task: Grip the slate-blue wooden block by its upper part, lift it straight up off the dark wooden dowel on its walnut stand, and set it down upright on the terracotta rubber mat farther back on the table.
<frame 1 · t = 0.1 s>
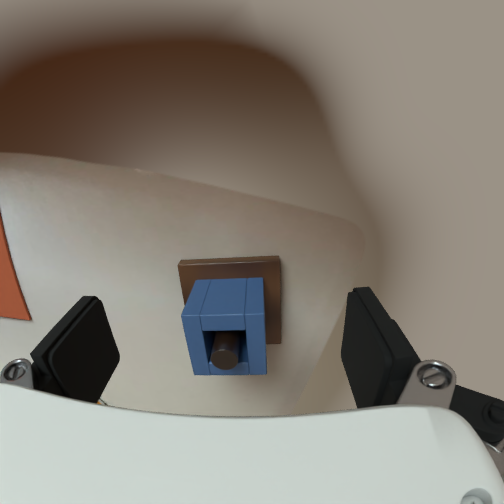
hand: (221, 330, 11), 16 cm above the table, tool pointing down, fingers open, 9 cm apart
blue block: (231, 307, 28), point 1 cm above the table, touching dowel stand
dowel stand: (232, 301, 29), on the table
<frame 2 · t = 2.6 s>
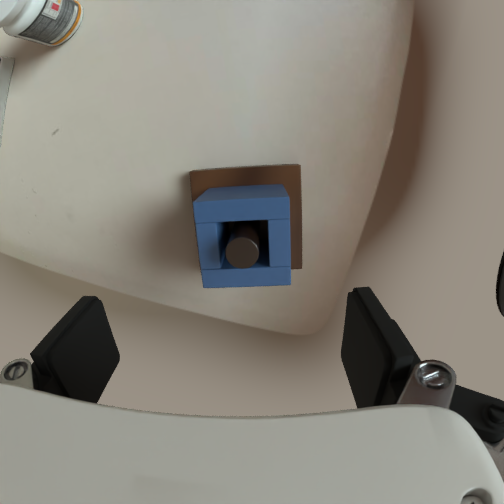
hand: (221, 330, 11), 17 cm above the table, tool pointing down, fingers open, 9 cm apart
blue block: (247, 221, 25), point 1 cm above the table, touching dowel stand
dowel stand: (248, 217, 26), on the table
pill bottle: (64, 24, 19), on the table
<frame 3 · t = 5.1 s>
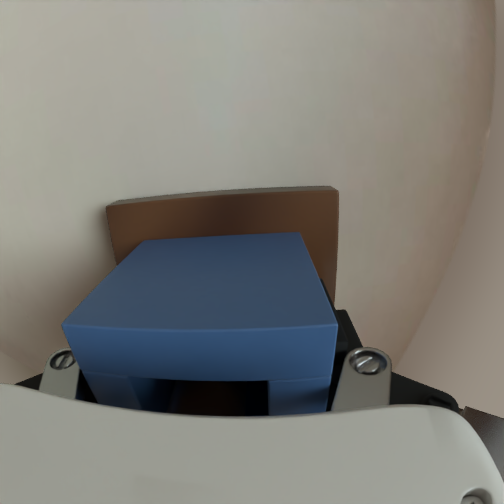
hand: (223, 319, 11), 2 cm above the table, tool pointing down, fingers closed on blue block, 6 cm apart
blue block: (225, 305, 12), point 1 cm above the table, touching dowel stand, gripper
dowel stand: (228, 292, 13), on the table
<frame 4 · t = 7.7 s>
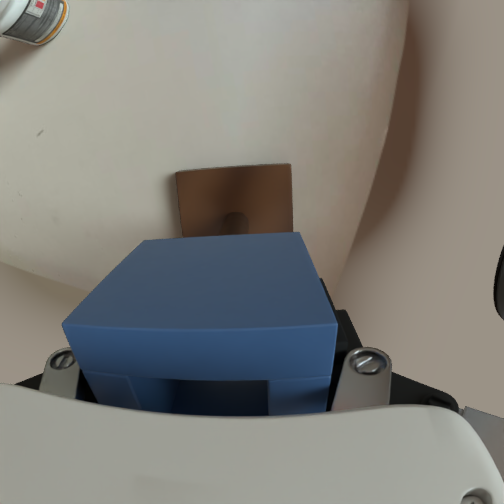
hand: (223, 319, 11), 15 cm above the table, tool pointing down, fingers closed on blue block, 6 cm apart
blue block: (225, 305, 12), point 14 cm above the table, touching gripper
dowel stand: (237, 219, 25), on the table
pill bottle: (50, 23, 18), on the table
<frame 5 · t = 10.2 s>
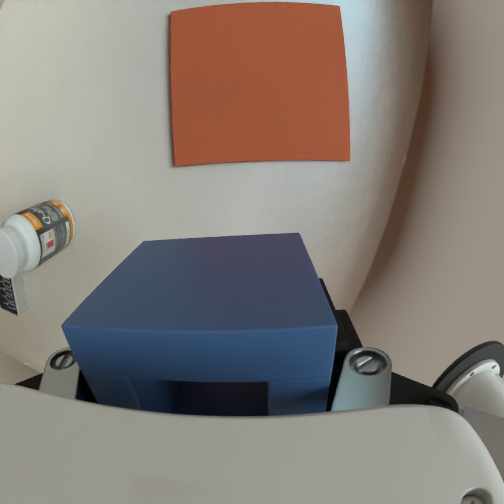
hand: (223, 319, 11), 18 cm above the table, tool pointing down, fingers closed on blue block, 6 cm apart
multiport hub: (13, 271, 31), on the table
blue block: (225, 306, 12), point 17 cm above the table, touching gripper
mat: (259, 75, 23), on the table
pill bottle: (59, 222, 29), on the table
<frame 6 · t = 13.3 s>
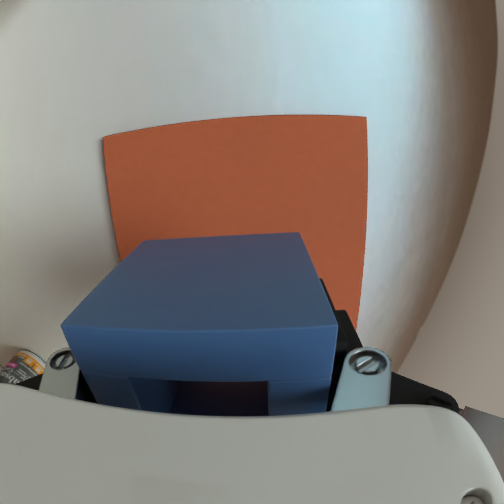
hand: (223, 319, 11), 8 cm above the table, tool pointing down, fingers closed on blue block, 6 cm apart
blue block: (225, 306, 12), point 7 cm above the table, touching gripper
mat: (238, 249, 19), on the table
pill bottle: (38, 368, 24), on the table
when the fingers open (1 cm above the table, at t = 15.5 s): blue block stays where it is, resting on mat.
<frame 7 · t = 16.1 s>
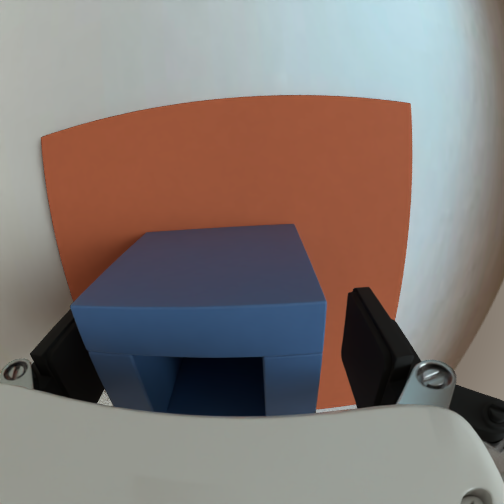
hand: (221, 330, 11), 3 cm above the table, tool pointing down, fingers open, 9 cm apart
blue block: (224, 295, 13), resting on mat
mat: (226, 291, 13), on the table
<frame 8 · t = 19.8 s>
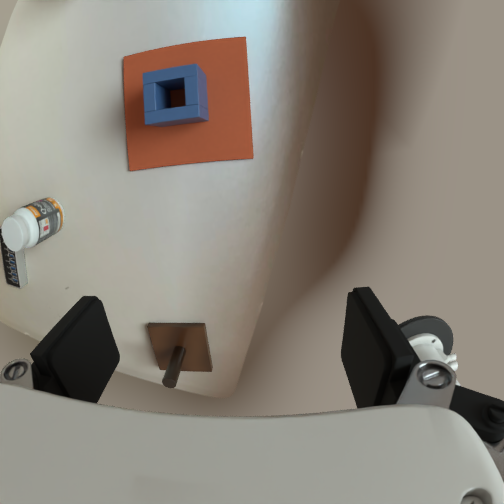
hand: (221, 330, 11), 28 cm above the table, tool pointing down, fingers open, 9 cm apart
multiport hub: (17, 253, 41), on the table
blue block: (183, 100, 33), resting on mat
mat: (184, 101, 33), on the table
dowel stand: (181, 346, 46), on the table
pill bottle: (53, 214, 38), on the table
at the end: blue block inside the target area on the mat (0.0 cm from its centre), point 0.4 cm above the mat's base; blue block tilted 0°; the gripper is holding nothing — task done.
